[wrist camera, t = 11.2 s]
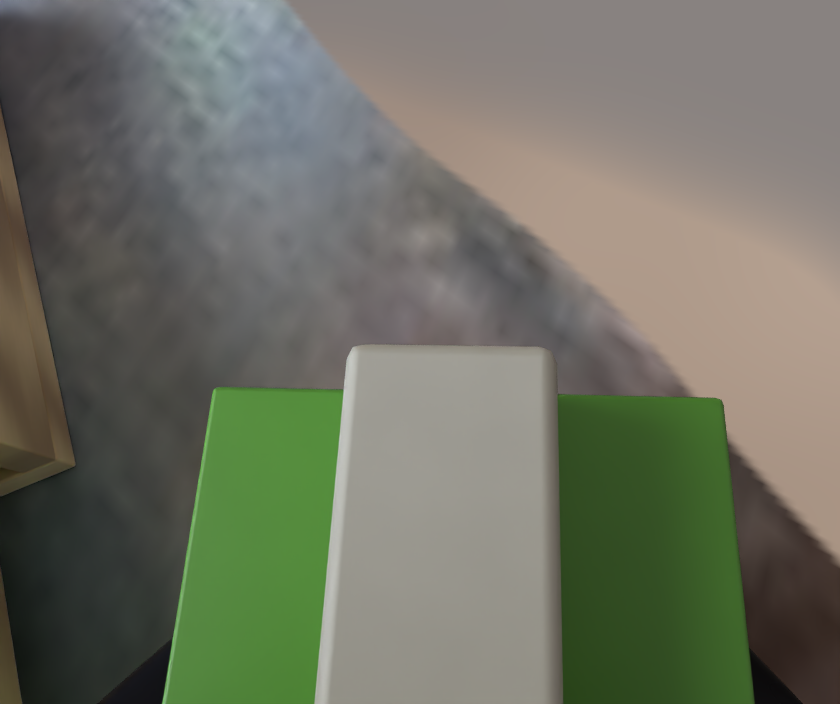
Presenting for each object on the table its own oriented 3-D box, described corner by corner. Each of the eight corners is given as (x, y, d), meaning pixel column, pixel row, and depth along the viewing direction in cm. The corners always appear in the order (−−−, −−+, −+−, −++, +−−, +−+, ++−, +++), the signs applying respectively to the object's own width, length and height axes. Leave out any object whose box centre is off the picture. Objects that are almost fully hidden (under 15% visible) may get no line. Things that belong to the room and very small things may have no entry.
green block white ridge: (574, 820, 12) (1025, 2012, 2) (372, 802, 12) (-135, 1711, 2) (568, 526, 13) (787, 342, 4) (389, 519, 14) (145, 335, 4)
